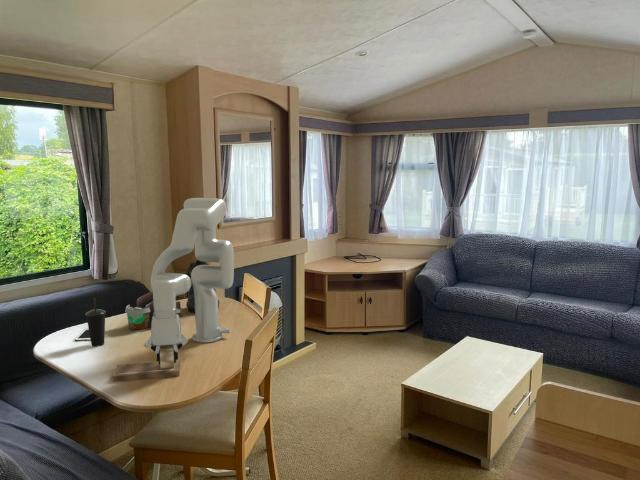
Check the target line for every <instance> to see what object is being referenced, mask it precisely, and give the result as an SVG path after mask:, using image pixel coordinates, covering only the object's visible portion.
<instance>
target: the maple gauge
mask: <svg viewBox="0 0 640 480" xmlns="http://www.w3.org/2000/svg"><path fill="white" fill-rule="evenodd" d="M174 364H175V363H174V347H173V345H161V346H160V366H161V368H171V367H174Z"/></svg>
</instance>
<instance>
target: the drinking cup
mask: <svg viewBox="0 0 640 480" xmlns="http://www.w3.org/2000/svg"><path fill="white" fill-rule="evenodd" d="M93 307H94V308H93V309H90V310H89V311H87V312H85V313H84V314H85V316H86V320H87V321H86V322H87V329H89V333H90V339H91V341H90V343H91V346H92V347H94V348H95V347H102V346H103V345H105V334H106V333H105V331H106V330H105V329H106V314H107V312H106V310H103V309H101V308H100V309H99V308H97V300H96V296H95V297H93Z"/></svg>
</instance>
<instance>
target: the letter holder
mask: <svg viewBox="0 0 640 480" xmlns="http://www.w3.org/2000/svg"><path fill="white" fill-rule="evenodd" d="M135 303H136V304H135V305H136V306H135V307H141V308H144V309H145V308H148V307H149V309H150V312H149V328H148V329H151V324H152V317H153V316H154V303H153V291H150V292H148V293H145V294H142V295H141V296H140V297H138V298H137V299H136V301H135ZM176 308H177V309H180V313H177V315H179V318H181V317H182V306H181V302H180V301H176Z"/></svg>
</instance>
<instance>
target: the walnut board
mask: <svg viewBox="0 0 640 480" xmlns="http://www.w3.org/2000/svg"><path fill="white" fill-rule="evenodd" d="M115 367H116V368H115V370H114V371H113V374H112V382H113V383H116V382H117V383H118V382H125V381H126V382H127V381H137V380H140V381H141V380H149V379H159V378H160V379H161V378H171V377H172V378H173V377H180V374H181V359H178V360H176V363H175V364H174V367H171V368H161V366H160V364H159V361H150V362H149V361H148V362H136V363H124V364H123V363H122V364H117V365H116V366H115Z"/></svg>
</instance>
